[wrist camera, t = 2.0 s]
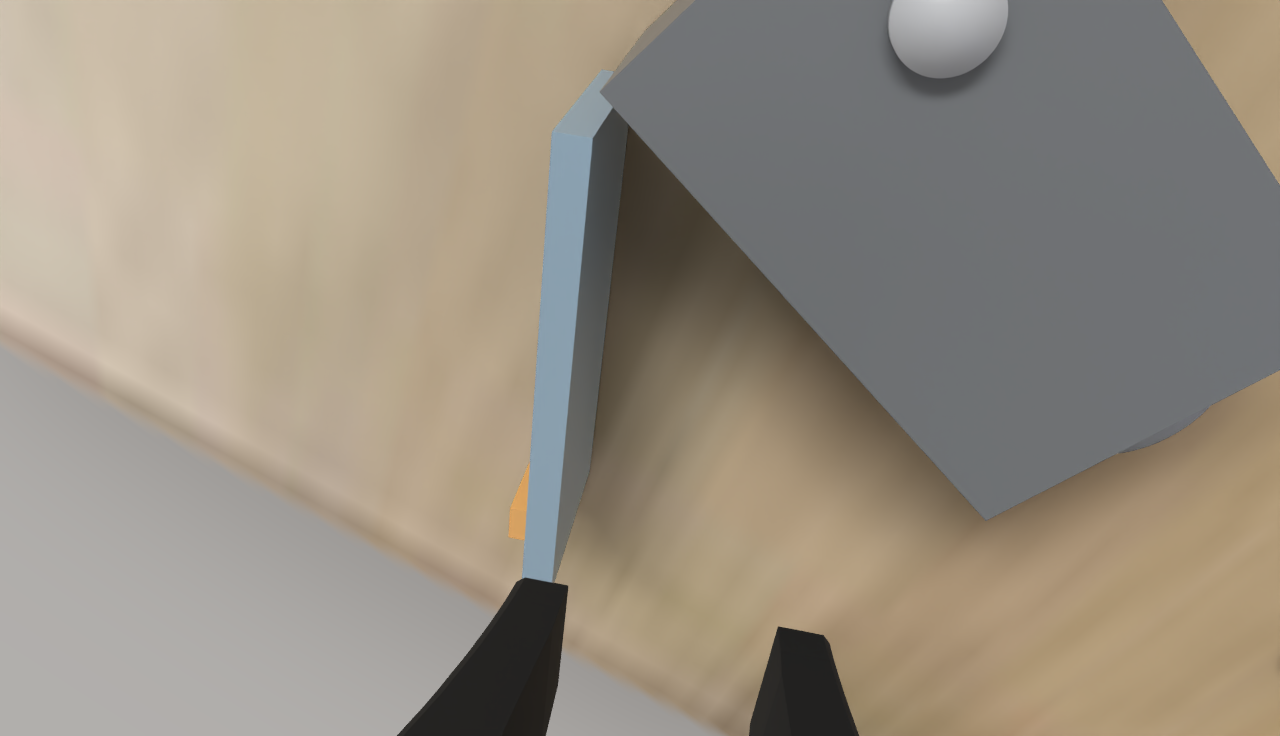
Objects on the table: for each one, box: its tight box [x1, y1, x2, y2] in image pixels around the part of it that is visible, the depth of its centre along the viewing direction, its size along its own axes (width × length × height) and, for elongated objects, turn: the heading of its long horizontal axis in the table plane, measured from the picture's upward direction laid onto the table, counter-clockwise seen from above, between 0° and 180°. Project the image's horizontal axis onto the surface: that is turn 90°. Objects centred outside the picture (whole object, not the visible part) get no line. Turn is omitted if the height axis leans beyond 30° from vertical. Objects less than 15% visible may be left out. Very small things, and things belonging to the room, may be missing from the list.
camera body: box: [600, 0, 1280, 521], centre depth 14 cm, size 10×6×5 cm, turn 43°
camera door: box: [509, 70, 629, 583], centre depth 17 cm, size 9×1×4 cm, turn 173°
